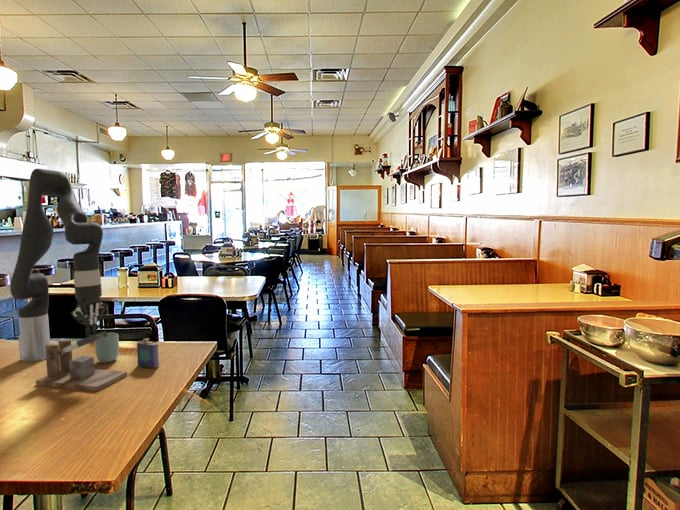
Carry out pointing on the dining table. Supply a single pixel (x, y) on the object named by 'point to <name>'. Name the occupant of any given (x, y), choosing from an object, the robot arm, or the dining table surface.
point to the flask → (147, 354)
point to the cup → (107, 348)
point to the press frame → (75, 370)
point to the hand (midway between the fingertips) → (91, 335)
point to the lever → (84, 342)
